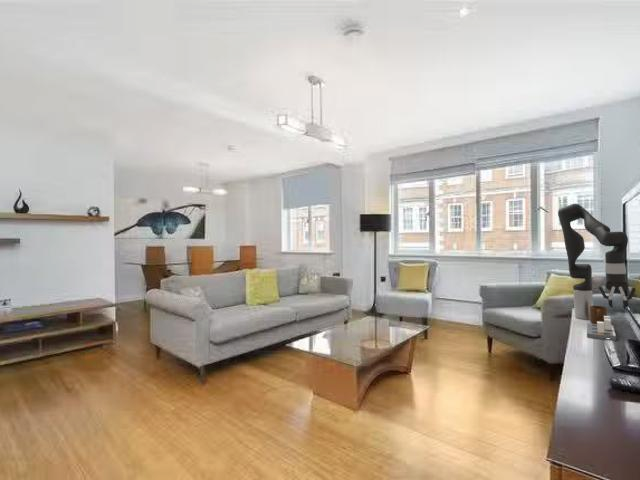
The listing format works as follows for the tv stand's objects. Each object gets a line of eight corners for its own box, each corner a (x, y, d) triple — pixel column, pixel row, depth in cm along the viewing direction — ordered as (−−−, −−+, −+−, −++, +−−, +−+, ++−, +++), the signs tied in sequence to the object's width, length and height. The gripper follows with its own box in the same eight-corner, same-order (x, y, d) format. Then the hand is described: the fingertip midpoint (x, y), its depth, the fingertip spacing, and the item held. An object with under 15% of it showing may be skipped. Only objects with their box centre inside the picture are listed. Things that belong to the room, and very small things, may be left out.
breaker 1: (597, 331, 169) (596, 321, 169) (604, 331, 167) (603, 321, 167) (597, 332, 167) (597, 322, 167) (604, 333, 165) (603, 323, 165)
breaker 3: (604, 328, 173) (604, 318, 173) (611, 328, 172) (610, 319, 172) (605, 329, 171) (604, 320, 171) (611, 330, 169) (610, 320, 169)
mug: (609, 327, 183) (608, 310, 183) (591, 325, 187) (590, 309, 188) (606, 322, 193) (605, 306, 193) (590, 321, 197) (589, 305, 197)
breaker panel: (587, 326, 186) (587, 322, 186) (613, 329, 179) (613, 325, 179) (587, 337, 167) (586, 333, 167) (616, 340, 160) (616, 335, 160)
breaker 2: (604, 324, 179) (603, 315, 180) (610, 325, 178) (609, 316, 178) (604, 326, 177) (603, 316, 177) (610, 326, 176) (610, 317, 176)
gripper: (596, 273, 165) (599, 307, 164) (636, 273, 156) (638, 310, 155) (596, 271, 170) (598, 305, 170) (634, 271, 162) (637, 307, 161)
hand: (617, 307), depth 163 cm, fingers open, 4 cm apart
